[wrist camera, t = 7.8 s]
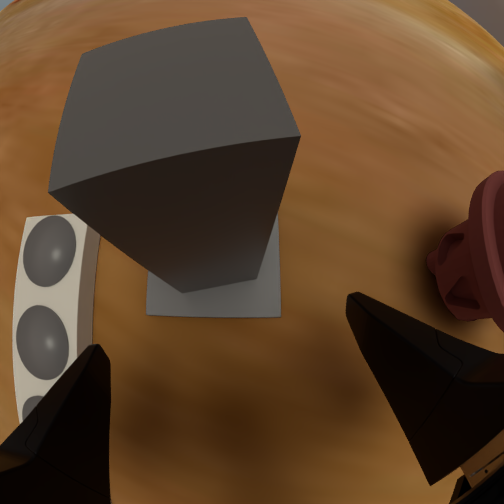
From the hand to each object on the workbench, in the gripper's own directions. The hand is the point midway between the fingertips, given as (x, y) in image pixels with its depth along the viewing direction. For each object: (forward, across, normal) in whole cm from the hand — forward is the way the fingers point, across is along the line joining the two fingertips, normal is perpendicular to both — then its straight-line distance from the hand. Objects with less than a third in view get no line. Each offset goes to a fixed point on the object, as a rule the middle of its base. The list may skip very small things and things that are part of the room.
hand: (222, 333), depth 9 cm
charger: (+8, 0, +1) cm, 9 cm away
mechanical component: (+5, -17, +6) cm, 19 cm away
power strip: (+4, +13, +7) cm, 15 cm away
